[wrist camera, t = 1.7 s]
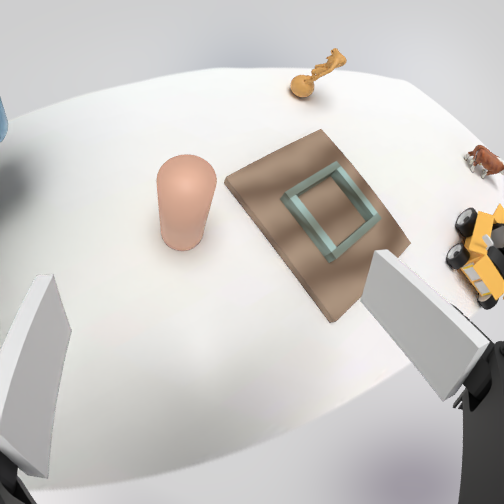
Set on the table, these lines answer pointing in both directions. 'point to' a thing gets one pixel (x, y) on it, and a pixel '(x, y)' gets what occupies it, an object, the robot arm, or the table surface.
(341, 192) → the jig board
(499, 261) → the race car
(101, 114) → the table surface
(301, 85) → the figurine
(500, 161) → the bull figurine
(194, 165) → the pink rounded cylinder
